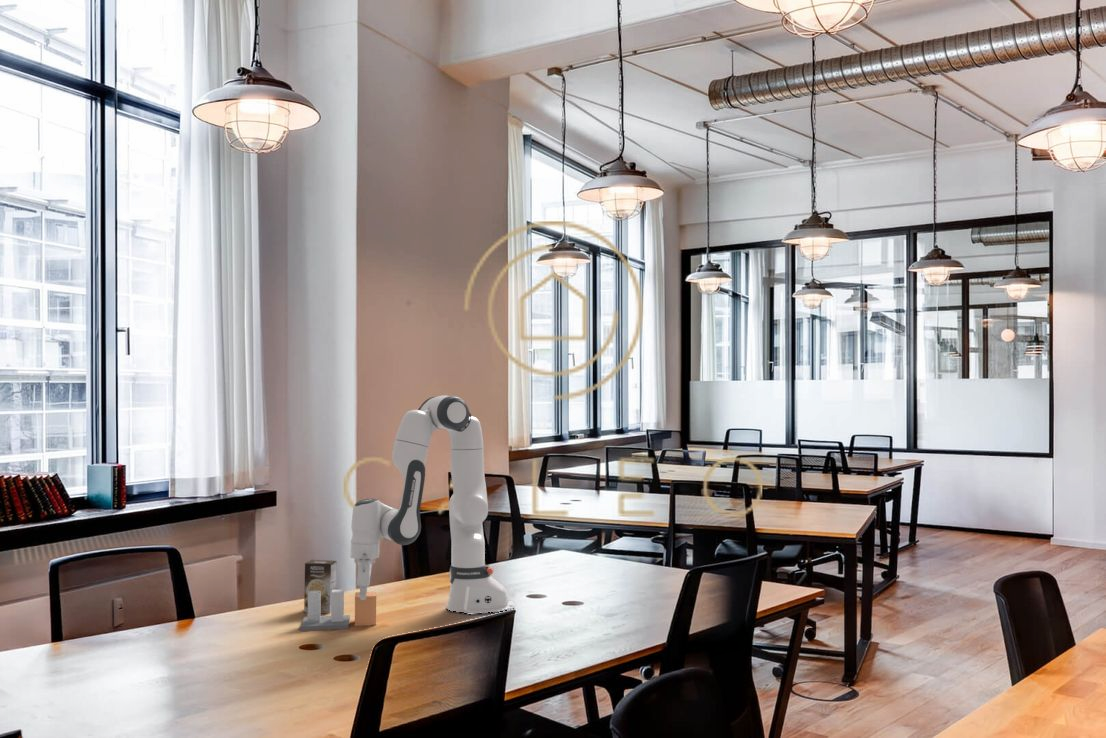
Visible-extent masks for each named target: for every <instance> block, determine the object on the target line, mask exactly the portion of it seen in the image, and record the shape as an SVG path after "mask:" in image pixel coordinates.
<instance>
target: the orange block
mask: <svg viewBox="0 0 1106 738" xmlns="http://www.w3.org/2000/svg"><path fill="white" fill-rule="evenodd" d="M376 625H377V591H367V592H366V600H360V591H357V592H355V595H354V626H355V627H357V626H358V627H359V626H361V627H362V626H376Z"/></svg>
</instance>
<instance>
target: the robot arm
mask: <svg viewBox="0 0 1106 738" xmlns="http://www.w3.org/2000/svg"><path fill="white" fill-rule="evenodd" d="M481 425H482V424H481V422H480V419H478V418H477V417H475V416H473V415H472V414H471V412H470V410H469V406H468V404H467V402H466V401H465V400H464V399H462V398H461V397H458V396H456V395H438V396H431V397H429V398H427V399H426V400H424V401H423V402H422V404H421V405H420V407H419V408H418V409H412V410H408V411H407V412H405V414H404V415H403V417H402V419H401V421H400V424H399V426H398V429H397V432H396V436H395V439H394V443H393V447H392V453H391V454H392V455H391V456H392V458H391V459H392V462H393V464H394V466H395V467H396V469H398V471H399V472H400V474H401V477H402V481H403V483H402V485H403V487H402V490H401V491H402V492H401V496H400V497H401V499H400V504H399V508H398V509H397V508H395V507H391V506H389V505H386V504H385V503H383V502H381V501H380V500H379V499H378V498H373V497H372V498H364V499H360V500H359V501H357V502H356V503H354V505H353V509H352V514H351V515H352V516H351V532H352V534H351V535H352V536H351V539H350V556H349V557H350V558H351V559H353V561H354V564H357V577H356V579H357V581H356V586H357V588H359V592H360V600H366V592H368V588H369V587H370V584H371V582H370V581H371V574H372V568H373V564H375V563H376V559H378V558H379V557H380V545H381V543H380V542H381V539H384V538H385V539H387V540H390V541H392V542H394V543H396V544H398V545H400V546H407V545H410V544H412V543H414V542H415V541H416V540H418V539H417V538H418V537H419V535H420V534H421V530H422V523H421V522H422V521H421V506H422V499H423V493H424V488H425V487H424V486H425V481H426V479H425V478H426V462H427V457H428V451H429V447H430V443H431V438H432V436H433V434H434V432H435V431H437V430H446V431H447V432H448V435H449V439H450V443H449V444H450V475H451V481H452V489H453V490H452V491H453V493H452V495H451V497H449V502H448V511H449V514H448V515H449V528H450V531H449V532H450V540H451V541H450V543H451V546H450V547H451V548H450V549H451V552H450V553H451V555H450V556H451V559H450V560H451V561H450V562H451V565H449V582H450V588H449V593H448V594H449V595H448V596H449V597H448V601H447V604H446V608H447V609H448V611H449V610H450V612H453V611H456V612H455V613H459V612H464V613H480V612H484V613H483V614H489V613H488V612H490V613H491V612H493V613H500V611H498V610H501V611H503V612H506V611H505V610H509V609H513V608H514V607H515V603H514V601H512V600H510V599H509V598H508V592H507V589H506V588H505V586H504V585H503V584H501V583H500V582H499V581H498V580H496V579H495V578H494V577H493V576H491V575H492V574H493V573H494V569H493V568H492V567H490V566H488V565H487V564H486V561H485V559H486V558H485V557H486V556H485V554H486V552H485V551H486V548H485V547H486V546H485V545H486V543H485V542H486V541H485V536H484V527H483V522H484V521H485V520H486V519H487V517H488V515H489V504H488V492H487V485H486V484H487V483H486V477H485V459H484V458H485V455H484V450H485V449H484V437H483V436H484V435H483V430H482V426H481ZM510 607H512V608H510ZM447 609H446V610H447ZM502 609H504V610H502ZM514 609H515V608H514ZM514 609H513V610H514ZM464 613H463V614H464ZM491 614H492V613H491Z"/></svg>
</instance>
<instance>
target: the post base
mask: <svg viewBox="0 0 1106 738" xmlns="http://www.w3.org/2000/svg"><path fill="white" fill-rule="evenodd" d="M344 607H345V589H344V588H343V589H336V590H332V592H331V613H330V615H322V616H321V620H320V622H319V623H308V616H303V619H302V622H301V624H300V631H301V632H304V631H307V632H308V631H323V630H325V631H327V630H346V629H349V626H350V621H351V615H350V614H345V608H344Z"/></svg>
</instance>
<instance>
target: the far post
mask: <svg viewBox="0 0 1106 738" xmlns="http://www.w3.org/2000/svg"><path fill="white" fill-rule="evenodd" d="M321 615H322V613H321V590H316V591H309V592H308V612H307V617H308V623H319V622H320V620H321Z"/></svg>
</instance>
